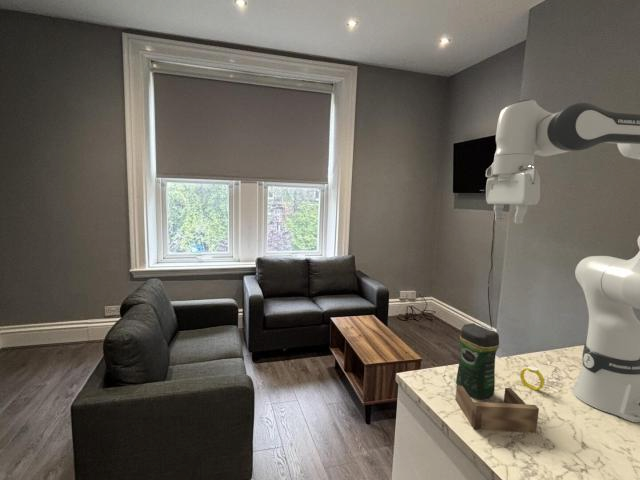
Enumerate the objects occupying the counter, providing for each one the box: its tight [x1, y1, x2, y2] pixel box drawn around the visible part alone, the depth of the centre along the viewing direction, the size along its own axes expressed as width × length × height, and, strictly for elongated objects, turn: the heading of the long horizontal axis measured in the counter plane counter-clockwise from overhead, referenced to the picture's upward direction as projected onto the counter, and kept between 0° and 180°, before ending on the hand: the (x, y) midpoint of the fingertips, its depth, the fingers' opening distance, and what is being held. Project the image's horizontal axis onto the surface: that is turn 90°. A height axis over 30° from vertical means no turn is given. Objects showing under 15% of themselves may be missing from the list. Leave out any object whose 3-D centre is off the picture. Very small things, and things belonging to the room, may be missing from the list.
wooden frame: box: [455, 385, 540, 434], centre depth 84 cm, size 14×12×6 cm
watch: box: [519, 365, 545, 391], centre depth 98 cm, size 6×3×6 cm, turn 30°
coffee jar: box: [455, 322, 500, 400], centre depth 94 cm, size 10×8×19 cm
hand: (508, 222), depth 87 cm, fingers open, 8 cm apart
